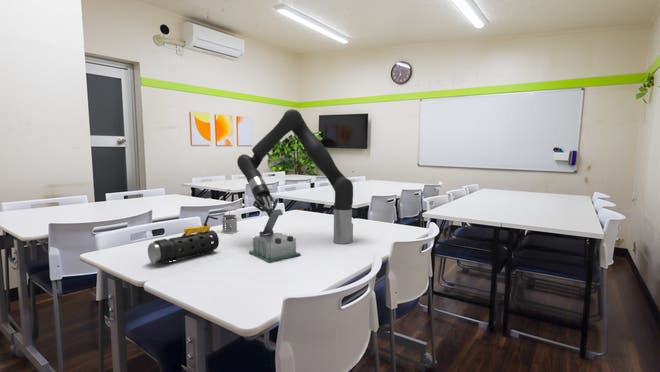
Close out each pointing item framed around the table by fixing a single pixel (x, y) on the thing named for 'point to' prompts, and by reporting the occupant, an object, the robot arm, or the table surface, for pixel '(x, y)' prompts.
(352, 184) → the robot arm
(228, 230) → the french press
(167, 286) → the table surface
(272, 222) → the grey lever
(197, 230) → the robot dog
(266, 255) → the board
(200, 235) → the muzzle brake
